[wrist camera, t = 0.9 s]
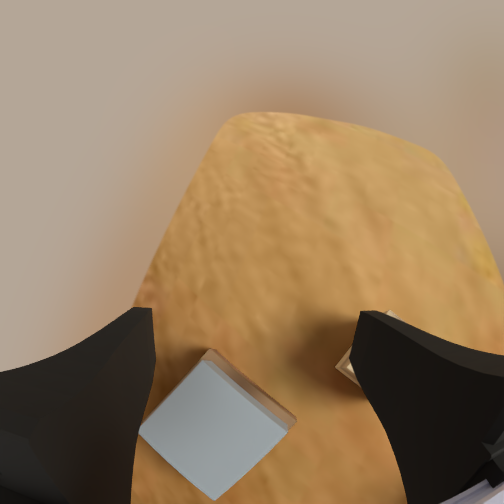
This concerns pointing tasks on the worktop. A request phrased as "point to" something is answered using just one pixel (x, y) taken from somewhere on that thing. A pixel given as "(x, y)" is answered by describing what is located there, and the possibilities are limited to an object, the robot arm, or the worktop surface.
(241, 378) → the walnut slab
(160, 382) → the worktop surface
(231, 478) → the slate slab
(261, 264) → the worktop surface
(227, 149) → the worktop surface
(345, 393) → the worktop surface
